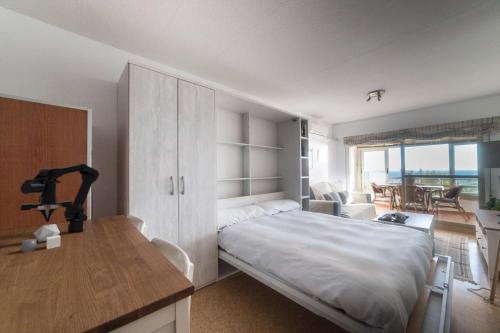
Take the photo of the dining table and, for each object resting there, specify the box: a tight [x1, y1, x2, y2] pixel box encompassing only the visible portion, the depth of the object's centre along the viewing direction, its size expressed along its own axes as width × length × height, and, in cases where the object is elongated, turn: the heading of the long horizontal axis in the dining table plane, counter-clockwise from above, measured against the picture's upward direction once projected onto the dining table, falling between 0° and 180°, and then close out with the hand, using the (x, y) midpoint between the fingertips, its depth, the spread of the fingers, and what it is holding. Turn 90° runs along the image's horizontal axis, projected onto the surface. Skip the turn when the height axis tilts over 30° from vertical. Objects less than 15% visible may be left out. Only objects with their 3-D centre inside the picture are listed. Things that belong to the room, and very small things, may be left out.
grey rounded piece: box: [21, 238, 38, 253], centre depth 91 cm, size 4×4×4 cm
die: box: [33, 223, 61, 243], centre depth 105 cm, size 8×9×10 cm
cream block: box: [46, 234, 62, 250], centre depth 96 cm, size 4×4×4 cm
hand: (47, 221), depth 105 cm, fingers closed
